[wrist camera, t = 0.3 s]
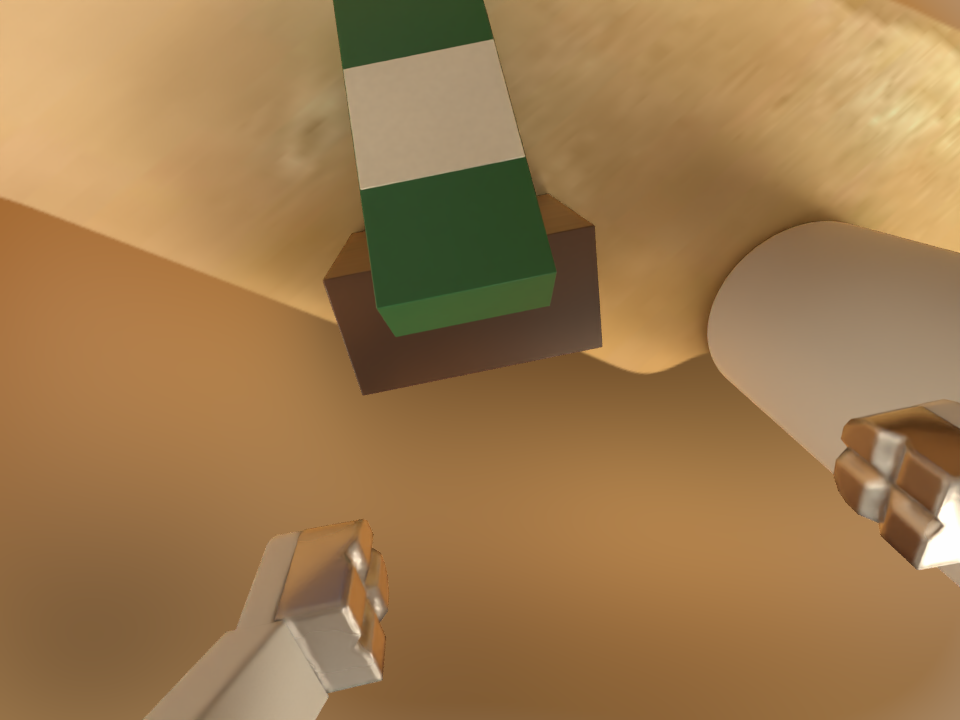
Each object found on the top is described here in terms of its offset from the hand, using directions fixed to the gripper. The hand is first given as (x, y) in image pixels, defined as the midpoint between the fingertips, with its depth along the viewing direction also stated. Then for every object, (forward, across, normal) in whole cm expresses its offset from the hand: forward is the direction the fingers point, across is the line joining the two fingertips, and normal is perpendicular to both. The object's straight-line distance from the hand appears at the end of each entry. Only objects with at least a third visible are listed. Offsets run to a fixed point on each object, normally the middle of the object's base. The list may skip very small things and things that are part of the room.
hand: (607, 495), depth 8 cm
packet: (+17, +2, -5) cm, 18 cm away
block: (+24, +2, +2) cm, 24 cm away
